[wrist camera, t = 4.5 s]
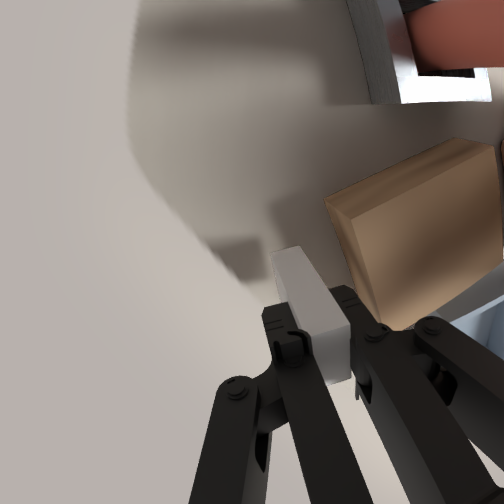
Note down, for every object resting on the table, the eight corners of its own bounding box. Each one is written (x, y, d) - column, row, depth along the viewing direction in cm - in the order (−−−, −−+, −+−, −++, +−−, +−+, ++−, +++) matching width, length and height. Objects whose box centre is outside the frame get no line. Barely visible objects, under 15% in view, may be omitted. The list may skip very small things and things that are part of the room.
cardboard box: (321, 197, 17) (350, 219, 13) (450, 137, 16) (493, 146, 12) (359, 303, 20) (385, 339, 16) (467, 239, 19) (502, 261, 16)
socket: (342, -11, 12) (365, -30, 9) (436, 0, 12) (465, -10, 9) (371, 104, 15) (401, 103, 12) (459, 99, 15) (492, 101, 12)
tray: (420, 295, 20) (448, 323, 17) (505, 259, 20) (532, 277, 17) (408, 383, 24) (425, 410, 21) (485, 344, 25) (504, 364, 21)
